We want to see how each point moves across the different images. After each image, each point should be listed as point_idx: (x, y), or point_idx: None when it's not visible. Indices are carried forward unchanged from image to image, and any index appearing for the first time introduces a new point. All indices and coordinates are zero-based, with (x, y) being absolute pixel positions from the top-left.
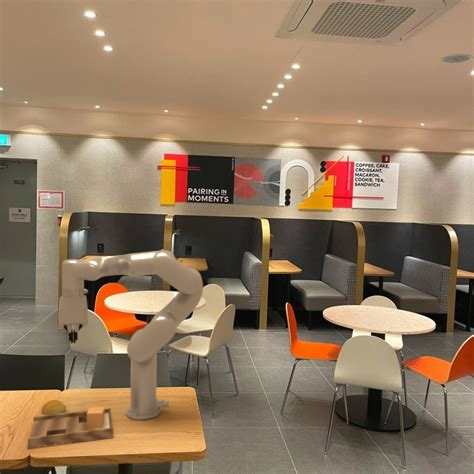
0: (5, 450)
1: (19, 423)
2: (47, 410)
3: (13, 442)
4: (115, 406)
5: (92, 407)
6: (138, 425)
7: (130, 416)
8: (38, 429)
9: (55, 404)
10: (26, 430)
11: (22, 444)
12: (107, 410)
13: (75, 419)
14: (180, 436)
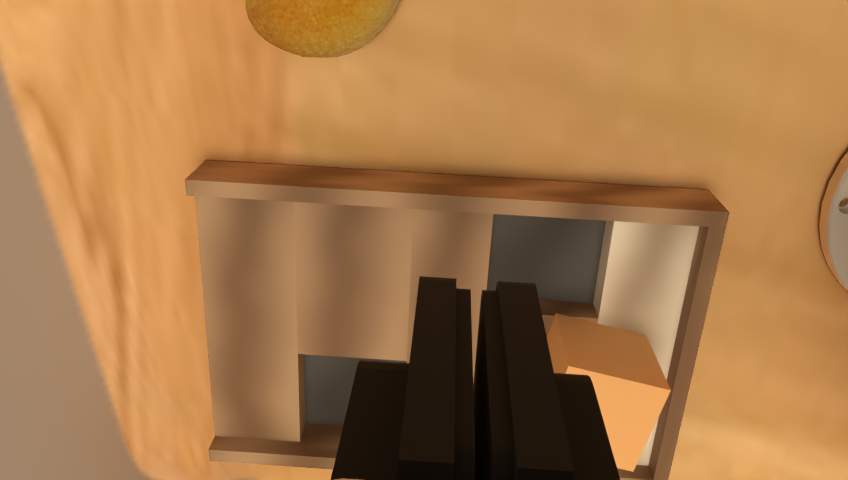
0: (118, 405)
1: (102, 90)
2: (265, 33)
3: (135, 337)
4: (797, 5)
5: (587, 371)
6: (836, 364)
7: (832, 268)
8: (246, 317)
9: (317, 2)
10: (173, 213)
11: (188, 373)
12: (700, 223)
13: (468, 253)
14: None
